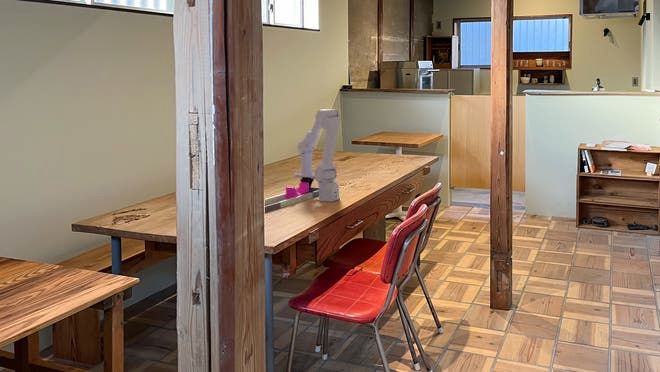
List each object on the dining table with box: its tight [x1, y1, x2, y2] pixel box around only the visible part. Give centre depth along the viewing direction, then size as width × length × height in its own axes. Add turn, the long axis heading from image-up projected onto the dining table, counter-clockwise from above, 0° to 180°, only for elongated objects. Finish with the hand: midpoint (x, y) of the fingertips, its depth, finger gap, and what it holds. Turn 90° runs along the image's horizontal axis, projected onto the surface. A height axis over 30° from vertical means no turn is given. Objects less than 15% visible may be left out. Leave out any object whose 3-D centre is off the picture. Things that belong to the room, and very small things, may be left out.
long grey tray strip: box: [264, 186, 319, 213], centre depth 338 cm, size 12×50×2 cm, turn 146°
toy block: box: [285, 181, 309, 200], centre depth 341 cm, size 15×6×8 cm, turn 151°
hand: (307, 192), depth 351 cm, fingers closed
